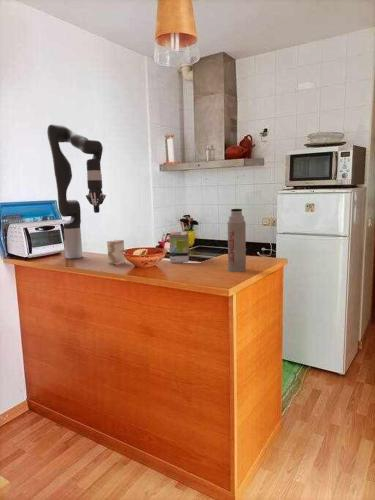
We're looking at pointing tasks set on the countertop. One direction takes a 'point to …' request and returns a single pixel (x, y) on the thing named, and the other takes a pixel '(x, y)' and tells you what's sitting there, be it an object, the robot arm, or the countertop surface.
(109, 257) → the birch block
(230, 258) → the thermos bottle
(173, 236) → the tea box
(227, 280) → the countertop surface
